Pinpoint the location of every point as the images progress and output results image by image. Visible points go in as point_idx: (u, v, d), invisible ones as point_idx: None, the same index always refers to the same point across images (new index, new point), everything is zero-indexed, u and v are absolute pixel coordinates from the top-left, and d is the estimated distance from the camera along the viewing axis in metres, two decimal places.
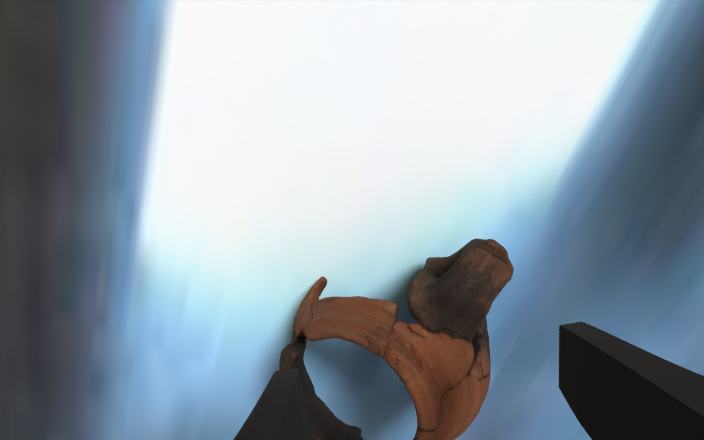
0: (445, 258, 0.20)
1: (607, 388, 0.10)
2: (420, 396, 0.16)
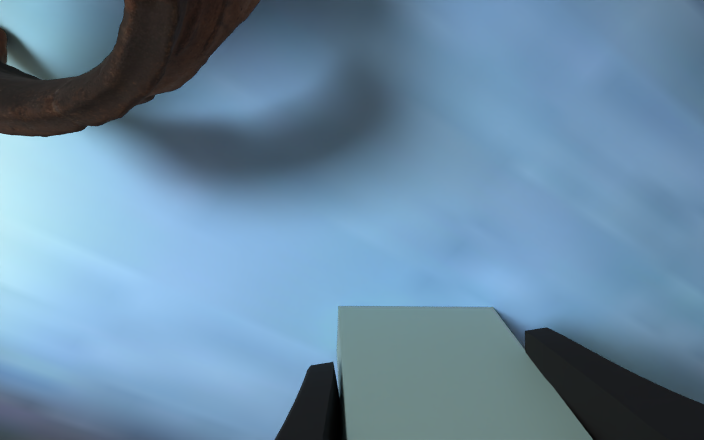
0: None
1: (566, 394, 0.10)
2: None
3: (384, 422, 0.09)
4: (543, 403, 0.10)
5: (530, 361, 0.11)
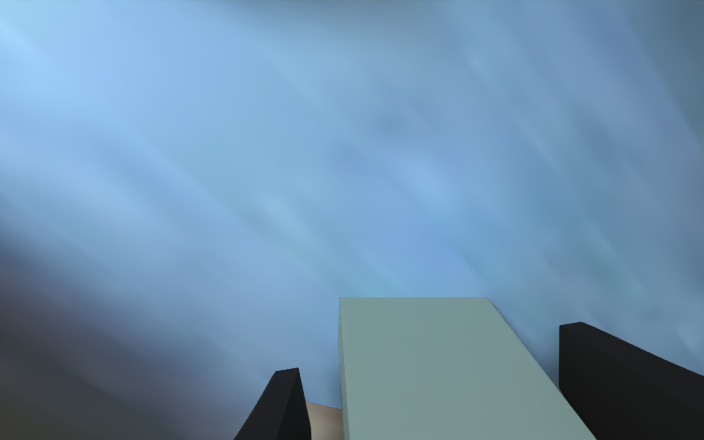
0: None
1: (607, 388, 0.10)
2: None
3: (383, 401, 0.10)
4: (533, 384, 0.10)
5: (522, 347, 0.12)
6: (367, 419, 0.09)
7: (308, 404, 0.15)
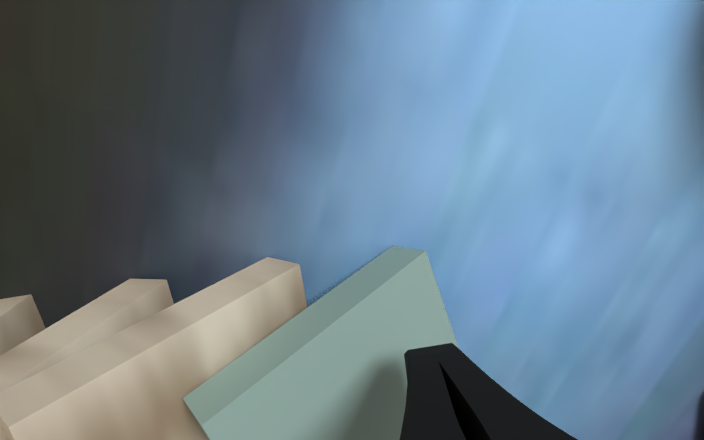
0: None
1: (455, 413, 0.10)
2: None
3: (318, 366, 0.12)
4: None
5: None
6: (297, 367, 0.11)
7: (298, 269, 0.14)
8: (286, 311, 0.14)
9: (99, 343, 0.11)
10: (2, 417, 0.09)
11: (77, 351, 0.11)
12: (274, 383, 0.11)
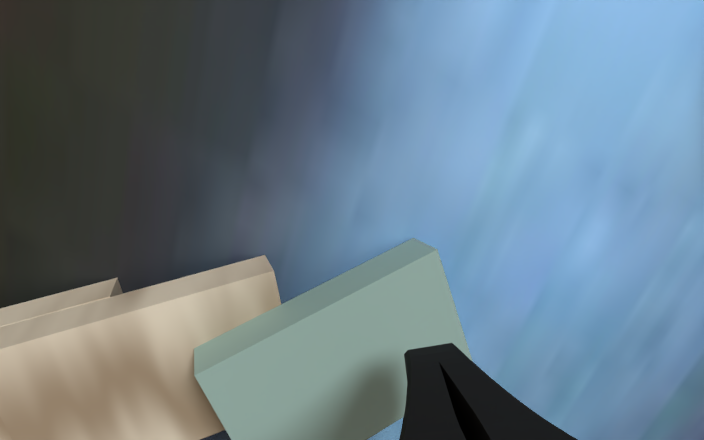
0: None
1: (455, 413, 0.10)
2: None
3: (307, 344, 0.13)
4: (363, 426, 0.14)
5: None
6: (286, 341, 0.12)
7: (271, 275, 0.14)
8: (254, 315, 0.14)
9: (81, 305, 0.13)
10: None
11: None
12: (263, 352, 0.12)
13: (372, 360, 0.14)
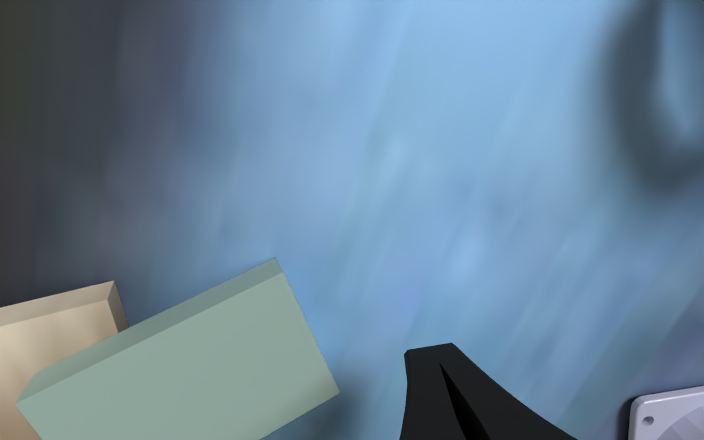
0: None
1: (455, 413, 0.10)
2: None
3: (141, 369, 0.13)
4: None
5: (263, 434, 0.14)
6: (116, 367, 0.12)
7: (105, 304, 0.13)
8: (87, 343, 0.13)
9: None
10: None
11: None
12: (91, 378, 0.12)
13: (218, 384, 0.13)
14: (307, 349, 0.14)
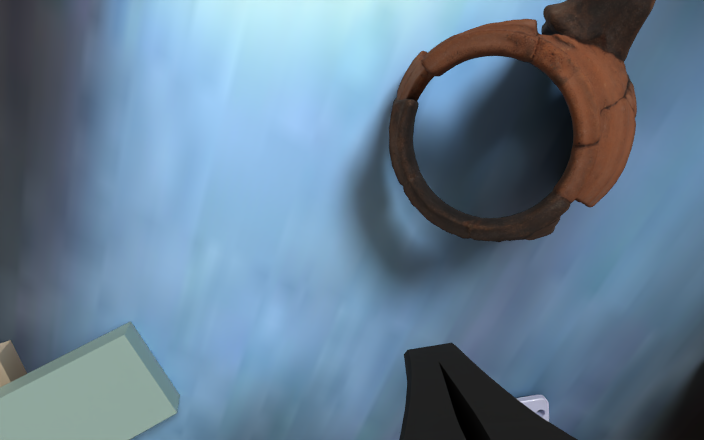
0: None
1: (455, 413, 0.10)
2: (582, 96, 0.13)
3: (30, 401, 0.20)
4: None
5: None
6: (13, 400, 0.20)
7: None
8: None
9: None
10: None
11: None
12: None
13: (85, 409, 0.21)
14: (148, 384, 0.21)
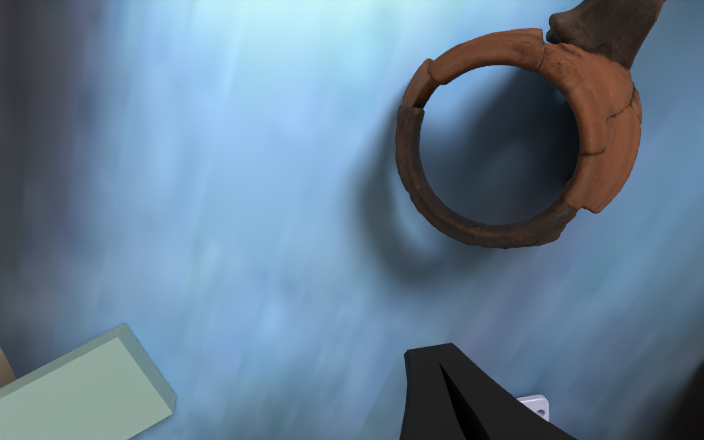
0: None
1: (455, 413, 0.10)
2: (588, 106, 0.13)
3: (26, 403, 0.20)
4: None
5: None
6: (9, 402, 0.20)
7: None
8: None
9: None
10: None
11: None
12: None
13: (81, 410, 0.21)
14: (143, 385, 0.21)
